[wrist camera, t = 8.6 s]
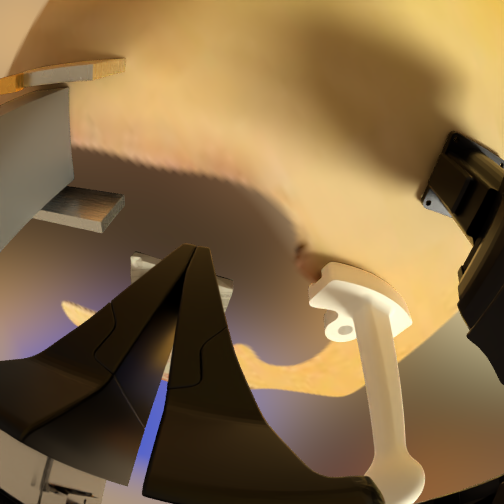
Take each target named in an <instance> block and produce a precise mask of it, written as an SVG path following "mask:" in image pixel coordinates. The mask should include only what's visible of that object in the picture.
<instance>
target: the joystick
mask: <svg viewBox="0 0 504 504" xmlns="http://www.w3.org/2000/svg"><path fill="white" fill-rule="evenodd" d="M321 273H322V277H321V278H320V279H319V280H318V281H317V282H316V283H311V284H310V285H309V287H308V289H309V290H308V291H309V304H310V306H311V307H315V308H321V309H328V310H327V311H326V312H325V314H324V328H325V335H326V337H327V338H328V339H330V340H332V341H336V342H346V341H351V340H353V339H356V338H357V342H358V346H359V352H360V357H361V362H362V367H363V373H364V379H365V385H366V391H367V397H368V403H369V410H370V417H371V424H372V431H373V440H374V449H375V455H374V459H373V462H372V465H371V466H370V468H369V469H368V471H367V472H366V473H365V475H364V476H369V477H370V478H371V479H372V480H373V482H374V483H375V484H376V486H377V487H378V489H379V490H380V491H381V493H382V495H383V497H384V500H385V504H412V503H414V502H415V501H416V499H417V498H418V497H419V495H420V494H421V492H422V490H423V487H424V483H425V474H424V470H423V468H422V466H421V465H420V464H419V463H418V462H417V461H416V460H415V459H413V458H412V457H411V456H410V454H409V453H408V451H407V448H406V439H405V425H404V413H403V403H402V393H401V385H400V378H399V371H398V364H397V357H396V351H395V345H394V339H393V337H395V336H396V335H398V334H399V333H401V332H402V331H403V330H405V329H406V328H407V327H409V326H410V325H411V324H412V319H411V316H410V313H409V310H408V307H407V304H406V302H405V301H404V299H403V298H402V296H401V295H400V294H399V293H398V292H397V291H396V290H395V289H394V288H393V287H392V286H391V285H390V284H388V283H387V282H385V281H384V280H382V279H381V278H379V277H377V276H375V275H373V274H371V273H369V272H367V271H364V270H362V269H359V268H356V267H353V266H350V265H346V264H342V263H338V262H330V263H328V264H327V265H326V266H325V267H324V268H323V269H322V270H321Z"/></svg>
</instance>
